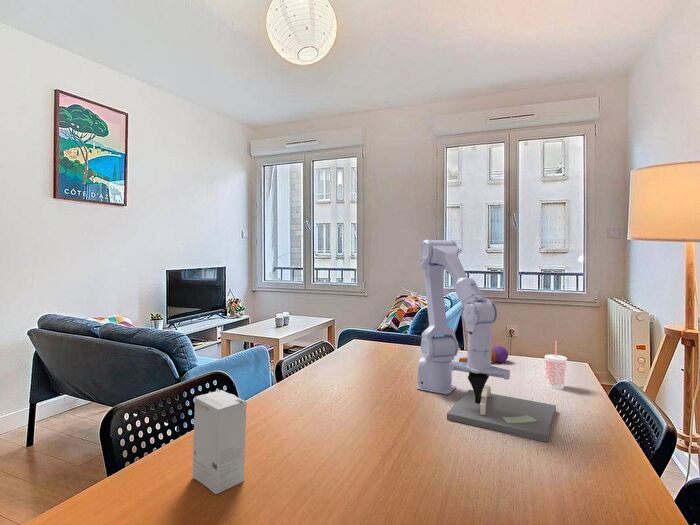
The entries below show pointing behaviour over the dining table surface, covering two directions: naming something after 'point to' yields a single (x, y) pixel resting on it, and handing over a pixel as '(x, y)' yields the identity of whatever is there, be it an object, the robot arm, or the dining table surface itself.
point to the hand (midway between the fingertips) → (478, 402)
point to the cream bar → (484, 399)
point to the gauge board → (506, 415)
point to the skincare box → (219, 440)
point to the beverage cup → (555, 370)
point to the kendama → (495, 355)
